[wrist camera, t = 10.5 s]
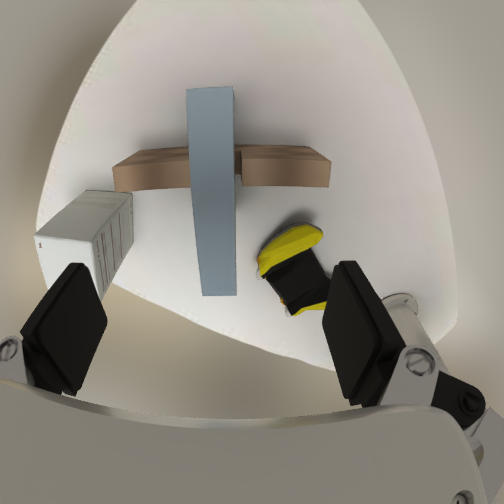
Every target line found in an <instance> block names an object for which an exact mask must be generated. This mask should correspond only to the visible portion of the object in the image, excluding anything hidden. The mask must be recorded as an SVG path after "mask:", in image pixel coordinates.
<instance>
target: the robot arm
mask: <svg viewBox="0 0 504 504" xmlns="http://www.w3.org/2000/svg"><path fill="white" fill-rule="evenodd" d="M417 312H418V305H417V302H416V301H415V299H414V298H413V297H412V296H410V295H407V294H397V295H393V296H390V297H388V298H385V299H384V300H382V301H381V299H380V298H379V296H378V295H377V294H376V292H375V291H374V289H373V287H372V286H371V284H370V282H369V281H368V279H367V277H366V276H365V274H364V273H363V271H362V269H361V268H360V266H359V265H358V263H357V262H356V261H340V262H339V265H335V266H334V270H333V275H332V279H331V284H330V289H329V293H328V298H327V302H326V306H325V310H324V315H323V319H322V326H323V330H324V333H325V336H326V339H327V343H328V346H329V349H330V352H331V356H332V359H333V362H334V366H335V369H336V372H337V375H338V379H339V383H340V386H341V389H342V393H343V396H344V398H345V399H349V402H350V405H351V406H354V405H359V404H361V405H362V408H359V409H352V410H346V411H340V412H333V413H325V414H317V415H308V416H297V417H286V418H272V419H237V420H236V419H233V420H232V419H231V420H230V419H200V418H184V417H173V416H163V415H155V414H147V413H140V412H134V411H128V410H122V409H116V408H112V407H107V406H102V405H97V404H93V403H89V402H84V401H81V400H77V399H73V398H69V397H66V396H63V395H61V394H62V391H63V392H64V393H65V394H68V395H71V396H76V394H77V391H78V390H80V389H81V387H82V384H83V382H84V379H85V376H86V374H87V371H88V369H89V366H90V363H91V361H92V359H93V356H94V354H95V352H96V349H97V346H98V344H99V342H100V340H101V338H102V335H103V333H104V331H105V329H106V326H107V316H106V314H105V311H104V309H103V306H102V304H101V301H100V298H99V296H98V293H97V290H96V288H95V285H94V282H93V279H92V276H91V273H90V270H89V268H88V267H87V266H86V265H85V264H84V263H75V262H72V263H70V264H69V265H68V266H67V267H66V268H65V270H64V271H63V272H62V273H61V275H60V276H59V277H58V278H57V280H56V281H55V282H54V284H53V285H52V286H51V288H50V289H49V290H48V292H47V293H46V294H45V296H44V297H43V299H42V300H41V301H40V303H39V304H38V305H37V307H36V308H35V310H34V311H33V313H32V314H31V315H30V317H29V318H28V320H27V321H26V323H25V325H24V326H23V328H22V329H21V331H20V333H21V334H22V336H23V338H24V339H23V340H22V341H21V340H20V339H19V337H17V336H9V337H6V338H5V339H3V340H2V341H1V342H0V504H498V501H497V497H496V494H497V492H498V491H499V489H500V487H501V485H502V483H503V482H504V419H503V418H502V417H501V416H500V415H498V414H497V413H496V412H495V411H494V410H493V409H492V408H491V407H489V408H488V409H486V408H485V404H486V403H485V399H484V396H483V395H482V393H481V392H480V391H479V390H478V389H477V388H475V387H474V386H472V385H469V384H467V383H465V382H463V381H461V380H458V379H457V378H455V377H452V376H451V375H450V374H449V371H448V370H447V368H446V366H445V364H444V362H443V360H442V359H441V357H440V355H439V353H438V352H437V350H436V348H435V346H434V345H433V343H432V341H431V340H430V338H429V336H428V335H427V333H426V331H425V330H424V328H423V327H422V325H421V323H420V322H419V320H418V319H417V317H416V316H417Z"/></svg>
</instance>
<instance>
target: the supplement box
mask: <svg viewBox="0 0 504 504" xmlns="http://www.w3.org/2000/svg"><path fill="white" fill-rule="evenodd" d="M34 239H35V244H36V249H37V253H38V257H39V261H40V265H41V268H42V271H43V275H44V278H45V282H46V285H47V288H48V290H49V289H50V288H51V286H52V285H53V284H54V282H55V281H56V280H57V278H58V277H59V276H60V275H61V273H62V272H63V271H64V270H65V268H66V267H67V266H68V265H69V264H70V263H72V262H75V263H84V264H85V265H86V266H87V267H88V268H89V270H90V273H91V276H92V279H93V282H94V285H95V288H96V290H97V293H98V296H99V298H100V301H102V299H103V297H104V295H105V293H106V291H107V289H108V287H109V285H110V283H111V282H112V280H113V278H114V276H115V274H116V272H117V270H118V269H119V267H120V265H121V263H122V261H123V260H124V258H125V256H126V255H127V253H128V251H129V249H130V248H131V246H132V244H133V224H132V194H131V193H118V192H103V191H85V192H83V193H82V194H81V195H79V196H78V197H77V198H76V199H74V200H73V201H72V202H71V203H70V204H68V205H67V206H66V207H65V208H63V209H62V210H61V211H60V212H59V213H58V214H56V215H55V216H54V217H53V218H52V219H51V220H50V221H48V222H47V223H46V224H45V225H44V226H43V227H42V228H41V229H40V230H39V231H38V232H36V233H35V234H34Z"/></svg>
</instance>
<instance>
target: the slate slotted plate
mask: <svg viewBox="0 0 504 504" xmlns="http://www.w3.org/2000/svg"><path fill="white" fill-rule="evenodd" d="M187 125H188V147H189V164H190V179H191V193H192V205H193V216H194V227H195V237H196V246H197V255H198V264H199V272H200V280H201V288H202V295H203V296H236V295H237V289H236V220H235V165H234V91H233V87H210V88H195V89H187Z"/></svg>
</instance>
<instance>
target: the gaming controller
mask: <svg viewBox="0 0 504 504" xmlns="http://www.w3.org/2000/svg"><path fill="white" fill-rule="evenodd" d="M322 237H323V232H322V230H321V229H320V228H319V227H317V226H314V225H312V224H309V223H306V222H302V223H297V224H292V225H290V226H289V227H287V228H286V229H284V230H283V231H281V232H280V233H279V234H277V235H276V236H274V237H273V238H272V239H271V240H270V241H269V242H268V243H267V244H266V245H265V246H264V247H263V248H262V249H261V251H260V252H259V254H260V255H259V256H258V258H257V262H258V269H257V272H256V278H257V279H258V280H259V279H266V280H267V281H268V282H269V284H270V285H271V286H272V288H273V289H274V290H275V291H276V293H277V294H278V295H279V297H280V300H281V303H282V304H284V305H285V314H286V315H287V317H290V316H297V315H299V314H300V313H302V312H304V311H305V310H325V306H326V302H327V298H328V293H329V289H330V284H331V279H332V278H331V277H329V276H328V275H327V274H326V273H325V272H324V270H323V269H322V267H321V265H320V263H319V262H318V260H317V258H316V257H315V255H314V253H313V251H312V250H311V247H312V246H314V245H316V244H317V243H318V242H319V241H320V240H321V238H322Z"/></svg>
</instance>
